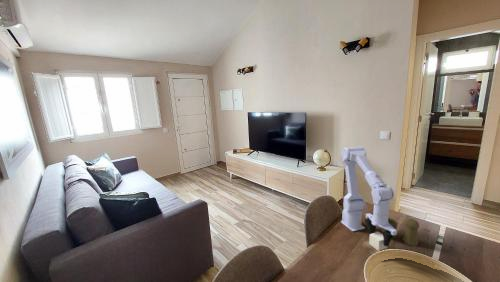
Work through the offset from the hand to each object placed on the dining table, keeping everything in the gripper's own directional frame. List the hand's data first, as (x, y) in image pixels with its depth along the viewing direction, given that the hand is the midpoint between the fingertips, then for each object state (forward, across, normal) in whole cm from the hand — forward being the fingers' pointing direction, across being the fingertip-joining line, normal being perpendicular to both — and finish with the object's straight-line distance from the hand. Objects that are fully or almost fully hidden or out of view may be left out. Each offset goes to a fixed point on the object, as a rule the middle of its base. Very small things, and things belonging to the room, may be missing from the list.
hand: (379, 239), depth 96 cm
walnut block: (+6, 0, 0) cm, 6 cm away
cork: (+6, 0, +19) cm, 20 cm away
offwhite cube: (+3, 0, 0) cm, 3 cm away
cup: (+6, -7, +13) cm, 16 cm away
